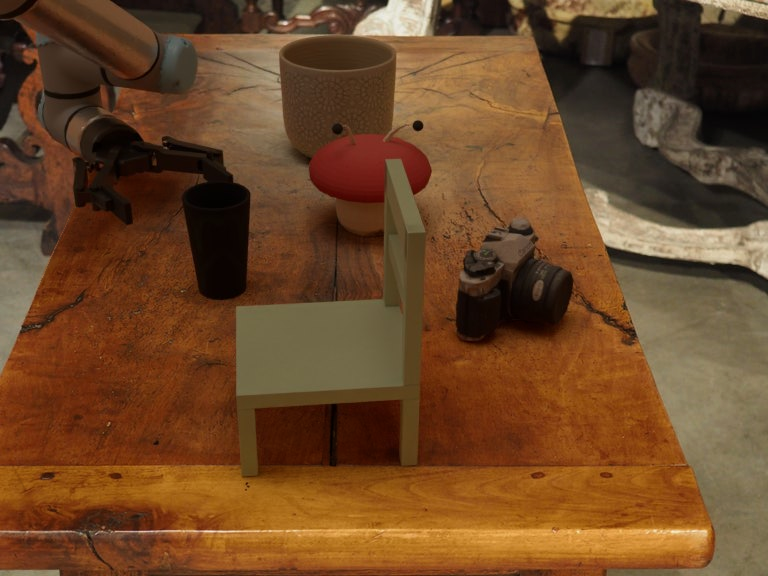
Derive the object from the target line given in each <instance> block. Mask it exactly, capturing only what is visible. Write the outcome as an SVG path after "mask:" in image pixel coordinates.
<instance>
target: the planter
mask: <svg viewBox="0 0 768 576" xmlns="http://www.w3.org/2000/svg"><path fill="white" fill-rule="evenodd" d="M278 63H279V64H278V65H279V79H280V91H281V104H282V105H281V107H282V120H283V127H284V131H285V134H286V137H287V138H288V141H289V142H290V144H291V145H292V146H293V147H294V148H295V149H296V150H297V151H298V152H299V153H301V154H302V155H304V156H306V157H307V158H309V159H312V158H313V156H314V155H315V153H316V152H317V151H318V150H319V149H321V148H322V147H324V146H325V145H327V144H329V143H330V142H332V141H334V140H337V139H340V138H343V137H346V136H349V134H348V131H347V129H346V128H345V127H343V131H342V133H341V134H339V135H337V134H334V133H333V131H332V127H333V125H334V124H336V123H339V124H341V125H342V126H343V125H346V126H348V127H349V128H350V130H351V132H352V134H353V135H358V134H378V135H387V134H388V133H389V132H390V131H391V130H393V122H394V113H395V112H394V111H395V110H394V109H395V93H396V78H397V77H396V76H397V51H396V50H395V48H394V47H393V46H391V45H390V44H388V43H386V42H384V41H382V40H379V39H375V38H370V37H365V36H358V35H350V34H349V35H347V34H329V35H328V34H327V35H326V34H325V35H315V36H309V37H303V38H300V39H296V40H293V41H291V42H289V43H286V44H285V45H283V46H282V47H281V48H280V50H279V53H278Z"/></svg>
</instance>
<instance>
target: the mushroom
mask: <svg viewBox="0 0 768 576" xmlns="http://www.w3.org/2000/svg"><path fill="white" fill-rule="evenodd" d="M408 126H409V127H410V126H411V127H412V129H413V130H414V131H415V132H421V131H423V129H424V127H425V126H424V122H423V121H421V120H419V119H418V120H417V119H416V120H414V121H413V123H412V124H411V123H403V124H401V125H397V126H395V127H394V128H392V129H391V131H390V132H389V133H388V134H387V135H378V134H358V135H353V134H352V132H351V130H350V128H349V127H348V126H346V125H343V126H342V125H341V124H339V123H336V124H334V125H333V127H332V131H333V133H334V134H337V135H339V134H341V133H342V131H343V127H345V128H346V129H347V131H348V134H349V136H346V137H343V138H340V139H337V140H334V141H332V142H330V143H329V144H327V145H325V146H324V147H322V148H321V149H319V150H318V151H317V152H316V153H315V155H314V156H313V158H310V159H311V160H310V161H309V163H308V174H309V178H310V181H311V184H312V185H313V186H314V187H315V188H316V189H317V190H318V191H319V192H320V193H322V194H324V195H327V196H329V197H330V198H334V199H335V211H336V217H337V221H338V223H339V224H340V225H341V226H342V227H343V228H344V229H345V230H346V231H347V232H349V233H351V234H353V235H357V236H362V237H380V236H384V205H385V159H401V160H402V163H403V166H404V169H405V172H406V175H407V178H408V181H409V184H410V187H411V190H412V193H413V196H415V195H418V194H419V193H420V192H422V191H423V190H424V189H425V188H426V187H427V186H428V184H429V182H430V180H431V177H432V172H433V171H432V166H431V163H430V160H429V158H428V156H427V155H426V154H425V153H424V152H423V151H422V150H421V149H419V147H417V146H416V145H414V144H413V143H411V142H408V141H406V140H404V139H401V138H399V137H395V136H394V135H395V134H396V133H398V132H399V131H401V129H403V128H405V127H408Z"/></svg>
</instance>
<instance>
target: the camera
mask: <svg viewBox="0 0 768 576" xmlns="http://www.w3.org/2000/svg"><path fill="white" fill-rule="evenodd" d="M539 240H540V237H539V235H538V234H537V235H536V231H535V228H534V227H533V226H532V225H531V222H530V221H529V219H528V218H526V217H514V218H512V219H511V221H510V222H509V225H508V227H507V228H504V227H502V226H494V228H492V229H491V230H490V232H488V233H487V234H486V235H485V237H484V239H483V240H482V242H481V245H480V247H479V250H475V249H468V250H467V251H466V252H465V256H463V257H464V258H463V259H462V262H463V263H462V265H463V269H462V270H461V272H460V273H459V276H458V287H457V288H458V289H457V296H456V297H457V300H456V303H455V327H456V331H455V333H456V335H457V336H458V337H459V339H460V340H462V341H465V342H466V341H467V342H477V341H482V339H484V338H485V336H486V335H489V334H492V333H494V332H496V330H497V329H498V327H499V325H500V324H502V323H503V322H511V321H517V320H519V321H528V322H534V323H539V324H548V325H551V326H556V325H559V324H560V323H561V322H562V320H563V319H564V316H565V315H566V313H567V311H568V309H569V305H570V301H571V298H572V295H573V288H574V277H573V273H572V272H571V271H570V270H568V269H564V268H563V267H562V266H559V265H555V264H552V263H549V262H547V261H545V260H543V259H537V258H535V252H536V243H537V242H538V241H539Z"/></svg>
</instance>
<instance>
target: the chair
mask: <svg viewBox="0 0 768 576" xmlns="http://www.w3.org/2000/svg"><path fill="white" fill-rule="evenodd" d="M426 242H427V230H426V228H425V226H424V222H423V219H422V215H421V213H420V211H419V207H418V205H417V202H416V199H415V195H413V193H412V190H411V187H410V184H409V181H408V178H407V175H406V172H405V169H404V166H403V163H402V160H401V159H385V205H384V235H383V272H382V275H383V276H382V277H383V278H382V279H383V280H382V282H383V283H382V298H378V299H358V300H338V301H320V302H319V301H316V302H299V303H297V302H296V303H279V304H278V303H277V304H258V305H256V304H255V305H238V306H237V305H236V306H235V394H236V395H235V397H236V398H235V399H236V412H237V413H236V414H237V427H238V428H237V429H238V444H239V457H240V458H239V459H240V470H241V471H240V472H241V473H240V475H241V477H242V478H243V477H244V478H245V477H258V476H259V460H258V459H259V458H258V441H257V440H258V439H257V421H256V409H267V408H282V407H299V406H315V405H316V406H317V405H331V404H332V405H333V404H334V405H335V404H350V403H365V402H366V403H367V402H368V403H369V402H384V401H397V400H398V401H400V405H399V406H400V409H399V410H400V412H399V442H398V443H399V445H398V447H399V449H398V454H399V455H398V457H399V462H400V466H401V467H407V466H409V467H410V466H417V465H418V457H419V430H420V429H419V428H420V403H421V401H420V399H421V378H422V377H421V376H422V375H421V374H422V350H423V349H422V348H423V347H422V346H423V345H422V344H423V324H424V323H423V321H424V299H425V298H424V296H425V295H424V293H425V269H426V266H425V265H426V244H427V243H426ZM401 305H402V310H401Z"/></svg>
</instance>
